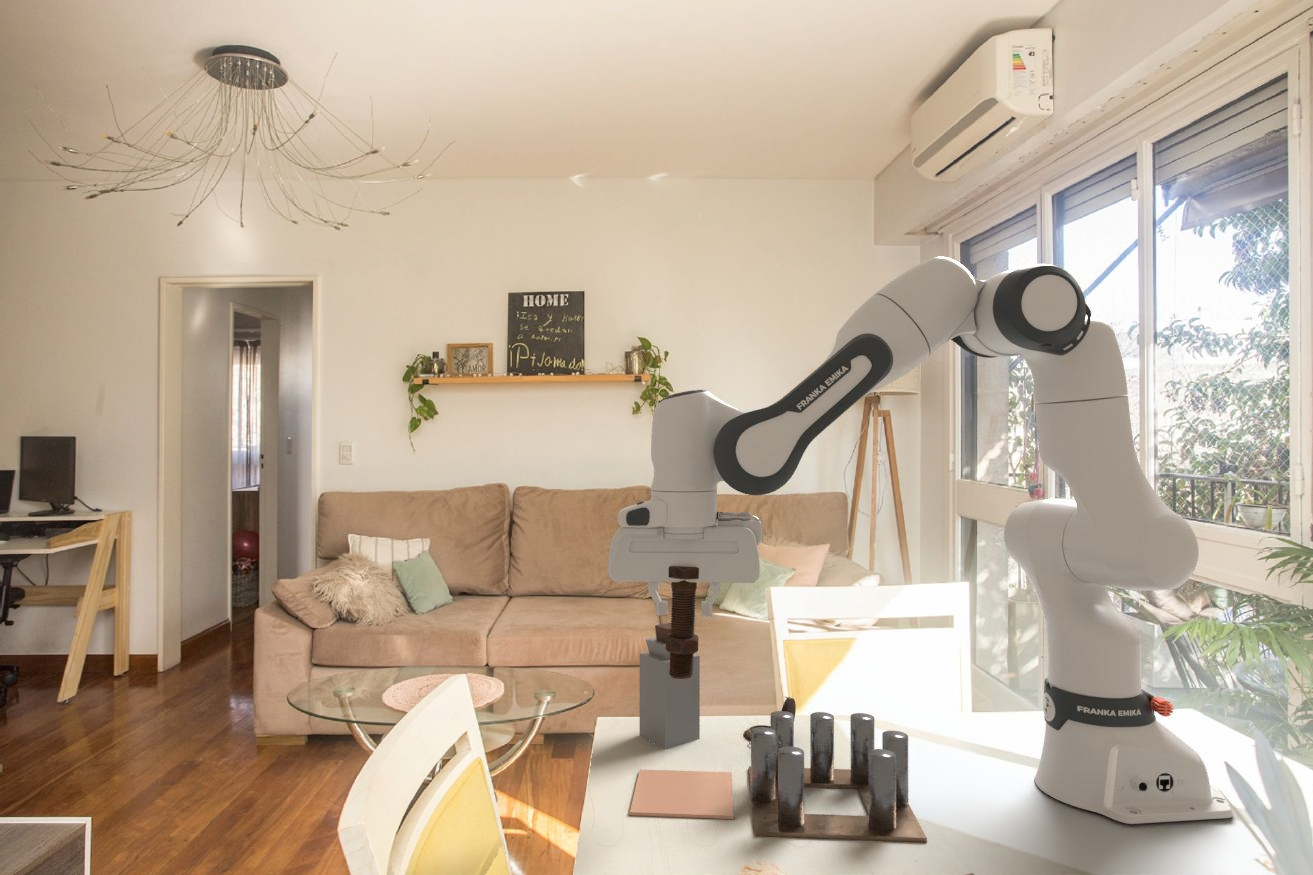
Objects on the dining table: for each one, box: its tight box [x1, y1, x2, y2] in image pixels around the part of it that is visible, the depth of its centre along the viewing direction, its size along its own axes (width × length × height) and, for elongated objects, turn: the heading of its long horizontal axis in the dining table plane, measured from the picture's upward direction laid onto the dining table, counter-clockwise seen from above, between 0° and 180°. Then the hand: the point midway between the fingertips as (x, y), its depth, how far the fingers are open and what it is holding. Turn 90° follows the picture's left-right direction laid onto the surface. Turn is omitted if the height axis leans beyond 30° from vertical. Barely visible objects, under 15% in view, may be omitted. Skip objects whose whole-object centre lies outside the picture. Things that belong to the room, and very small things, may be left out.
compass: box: [743, 696, 797, 746], centre depth 124 cm, size 8×8×7 cm
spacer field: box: [748, 710, 928, 843], centre depth 103 cm, size 20×19×9 cm
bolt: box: [666, 566, 699, 679], centre depth 105 cm, size 6×5×15 cm
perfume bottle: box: [639, 622, 701, 750], centre depth 124 cm, size 7×7×18 cm
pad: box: [629, 769, 734, 820], centre depth 105 cm, size 13×13×1 cm
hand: (684, 615), depth 105 cm, fingers closed on bolt, 5 cm apart
